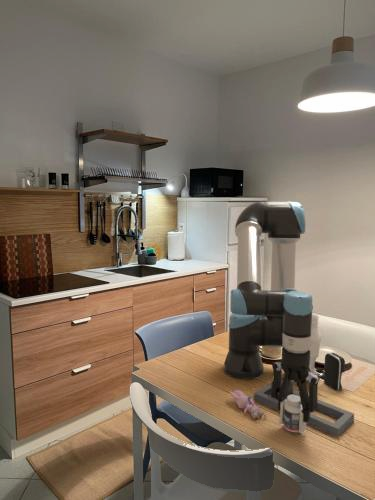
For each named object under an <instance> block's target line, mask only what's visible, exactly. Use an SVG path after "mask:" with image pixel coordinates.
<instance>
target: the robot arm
mask: <svg viewBox="0 0 375 500" xmlns="http://www.w3.org/2000/svg"><path fill="white" fill-rule="evenodd" d="M234 226H235V227H234V232H235V237H237V266H236V269H237V270H236V271H237V272H236V275H237V276H236V288H235V289H232V290H230V300H229V301H230V312H231V314H230V315H229V321H228V322H229V323H228V328H229V330H228V352H227V353H226V357H225V360H224V362H223V371H224V373H225V374H227V375H228V376H229V377H232V378H234V379H235V378H236V379H240V380H241V379H242V380H250V379H251V380H252V379H257V378H259V377H261V376H263V374H264V370H265V369H264V364H263V361H262V357H261V354H260V347H271V348H273V347H274V348H275V347H276V348H281V362H280V361H276V362H273V363H272V365H271V366H272V371H273V375H272V381H273V389H272V395H273V396H274V397H276V398H277V399H278V410H279V411H280V412H279V411H278V412H279V413H280V414H279V416H280V417H279V424H281V425H284V405H285V403H287V399H285V398H286V397H287V396H286V394H287V391H288V389H289V386H290V383H291V381H293V383H295V384H296V385H295V386H296V387H297V389H298V392H299V394H300V399H301V404H302V409H301V410H300V418H299V432H298V433H299V434H303V433H304V432H305V431H306V430H307V425H308V424H307V422H308V421H309V419H310V413H311V414H313V412H315V411H317V410H316V409H317V399H318V390H319V389H318V388H319V387H318V386H319V385H318V384H319V382H320V379H321V376H319V375H318V374H315V375H314V374H312V373H311V371H310V368H309V364H310V350H309V349H310V348H311V324H312V314H313V310H314V306H313V296H312V294H310V293H308V292H305V291H300V290H297V289H295V285H296V284H295V281H296V280H295V279H296V276H295V275H296V253H297V251H296V249H297V247H296V245H297V242H299V241H300V240H301V235H303V234H305V233H306V216H305V211H304V208H303V205H302V204H301V202H297V201H288V200H287V201H257V202H253V203H251V204H248V206H247V207H245V208H244V210H243V209H242V211H241V213H240V214H239V215H238V217H237V219H236V222H235V225H234ZM262 234H267V239H268V240H269V241H270V242H271V270H270V271H271V272H270V276H271V277H270V290H265V289H263V290H262V276H261V275H262V274H261V273H262V270H261V267H262V266H261V244H260V243H261V241H260V237H261V236H262ZM282 371H283V372H282ZM282 373H284V375H283V377H282ZM281 377H282V378H283V383H282V386H281ZM307 377H309V380H308V381H307V380H306V378H307ZM308 382H309V385H308V387H307V384H308Z"/></svg>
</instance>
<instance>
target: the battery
mask: <svg viewBox="0 0 375 500" xmlns="http://www.w3.org/2000/svg"><path fill="white" fill-rule="evenodd" d="M345 372H346V361H345V358H343V356H341V355H339V354H337V353H335V352H329V353H328V352H327V353H326V354H325V355H324V373H323V375H324V377H323V378H324V379H323V382H324V383H325V384H326V385H327V386H329V387H330V388H332V389H333V390H336V391H339V390H342V388H343V386H342V383H341V382H342V380H341V379H342V375H343V374H344V373H345Z"/></svg>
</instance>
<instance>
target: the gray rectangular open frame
mask: <svg viewBox="0 0 375 500" xmlns="http://www.w3.org/2000/svg"><path fill="white" fill-rule="evenodd" d="M282 383H283V377H282V376H281V386H282ZM272 389H273V380H272V381H271V383H269V384H267V385H265V386H264V387H262V388H260V389H259V390H257V391H255V392H254V393H253V401H255V402H257V403H259V404H262V405H264V406H265V407H269V408H271V409H273V410H275V411H277V412H279V413H280V411H279V410H278V399H277V398H276V397H274V396H273V395H272ZM288 395H298V396H300V394H299V391H297V390H294V381H293V380H291V383H290V386H289V389H288V391H287V394H286V396H288ZM285 399H287V397H286V398H285ZM301 405H302V404H301ZM315 411H318V412H320V413H323V414H324V415H328V416H330V417H333V418H335V419H337V420H336V421H334V422H332V421H331V420H327V419H325V418H323V417H321V416H318V415H315V414H314V413H311V412H310V419H309V421H308V422H307V424H306V425H309V426H311V427H313V428H316V429H318V430H320V431H322V432H324V433H327V434H328V435H332V436H333V437H334V438H335V437H336V438H339V437H340V436H341V435H342V434H343V433H344V432H345V431H346V429H348V428H349V427H350V426H351V425H352V424H353V423H354V421H355V413H353V412H351V411H349V410H346V409H343V408H341V407H339V406H336V405H333V404H331V403H328V402H325V401H322V400H320V399H318V398H317V409H316V410H315Z"/></svg>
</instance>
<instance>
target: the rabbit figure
mask: <svg viewBox="0 0 375 500" xmlns="http://www.w3.org/2000/svg"><path fill="white" fill-rule="evenodd" d="M229 393H230V395H231V397H232V398H233V399H234V400H235V401H236V403H237V407H238V408H239V409H241V410H243V412H244V414H246V413H247V412H249V413H250V416H251V417H252V419H254V420H257V422H259V421H261V420H260V418H261V417H262V416H264V417H263V419H267V416H266V414H265V413H264V411H262V410H261V405H256V404H255V402H254V401H255V400H254V399H253V397H252V395H248V396H247V395H246V394H245V393H244V392H243V391H241V390H238V389H237V390H235V389H234V390H233V391H230V392H229Z"/></svg>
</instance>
